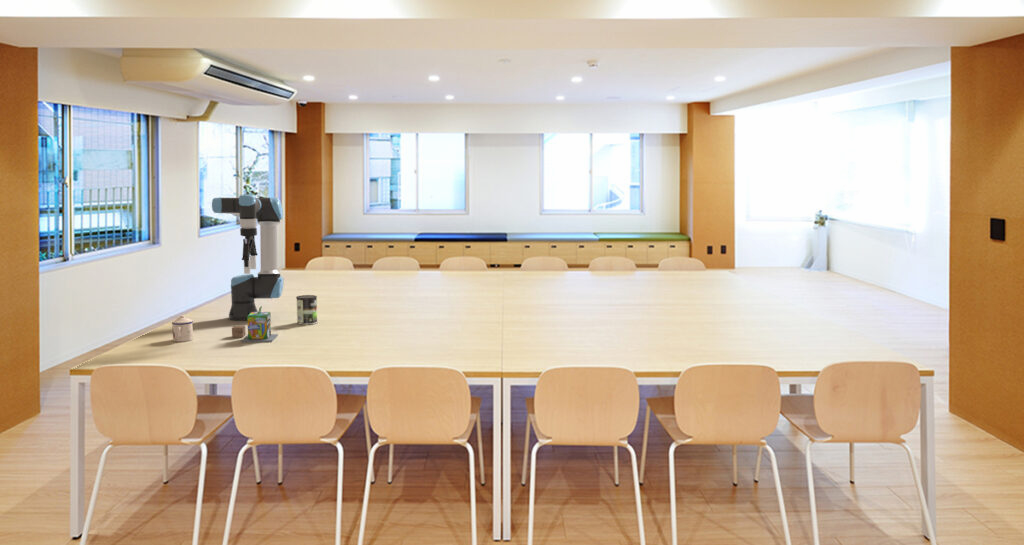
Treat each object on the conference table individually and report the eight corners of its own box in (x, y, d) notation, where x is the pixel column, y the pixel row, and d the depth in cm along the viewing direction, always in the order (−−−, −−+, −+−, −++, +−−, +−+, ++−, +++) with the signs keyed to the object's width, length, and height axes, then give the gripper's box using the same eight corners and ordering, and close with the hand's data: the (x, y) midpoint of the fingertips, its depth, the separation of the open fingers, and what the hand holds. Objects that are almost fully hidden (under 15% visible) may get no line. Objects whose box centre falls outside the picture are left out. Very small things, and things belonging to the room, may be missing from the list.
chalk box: (251, 335, 374) (250, 304, 372) (271, 335, 375) (270, 304, 373) (247, 339, 365) (246, 308, 363) (267, 339, 366) (266, 308, 364)
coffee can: (320, 321, 414) (320, 295, 412) (312, 325, 404) (311, 298, 402) (302, 320, 416) (301, 294, 414) (293, 324, 406) (292, 297, 404)
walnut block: (235, 335, 378) (234, 325, 377) (245, 335, 378) (245, 325, 377) (232, 338, 373) (231, 327, 372) (243, 338, 373) (242, 327, 373)
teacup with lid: (175, 338, 371) (174, 313, 370) (195, 337, 373) (194, 313, 371) (168, 343, 360) (167, 318, 358) (189, 343, 361) (188, 318, 359)
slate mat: (248, 336, 377) (248, 334, 377) (277, 335, 378) (277, 334, 378) (240, 342, 363) (240, 340, 363) (271, 342, 364) (271, 340, 364)
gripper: (246, 224, 386) (247, 267, 390) (234, 230, 362) (236, 275, 365) (261, 224, 387) (263, 267, 391) (251, 230, 363) (253, 275, 366)
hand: (250, 271), depth 378 cm, fingers open, 13 cm apart
